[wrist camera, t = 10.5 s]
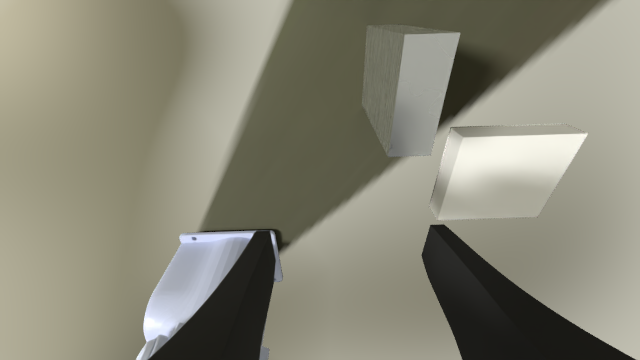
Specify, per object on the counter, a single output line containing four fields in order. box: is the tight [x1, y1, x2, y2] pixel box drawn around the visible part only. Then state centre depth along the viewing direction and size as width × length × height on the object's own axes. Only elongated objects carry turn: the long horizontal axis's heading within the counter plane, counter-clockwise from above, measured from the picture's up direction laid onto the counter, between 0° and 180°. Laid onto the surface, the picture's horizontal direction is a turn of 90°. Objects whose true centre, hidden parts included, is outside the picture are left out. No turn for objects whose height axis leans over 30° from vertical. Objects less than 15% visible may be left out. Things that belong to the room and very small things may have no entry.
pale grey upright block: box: [362, 24, 460, 157], centre depth 14 cm, size 2×5×8 cm, turn 2°
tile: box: [429, 123, 588, 220], centre depth 21 cm, size 2×8×9 cm
